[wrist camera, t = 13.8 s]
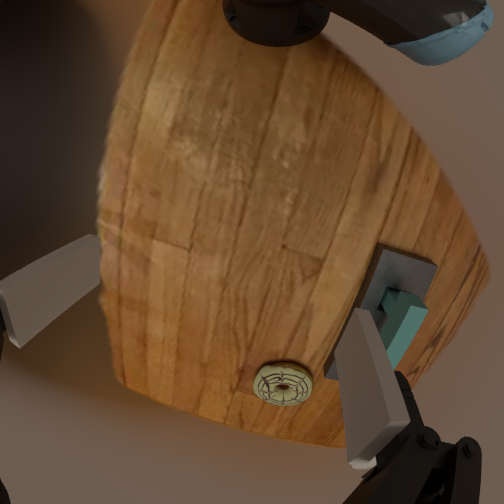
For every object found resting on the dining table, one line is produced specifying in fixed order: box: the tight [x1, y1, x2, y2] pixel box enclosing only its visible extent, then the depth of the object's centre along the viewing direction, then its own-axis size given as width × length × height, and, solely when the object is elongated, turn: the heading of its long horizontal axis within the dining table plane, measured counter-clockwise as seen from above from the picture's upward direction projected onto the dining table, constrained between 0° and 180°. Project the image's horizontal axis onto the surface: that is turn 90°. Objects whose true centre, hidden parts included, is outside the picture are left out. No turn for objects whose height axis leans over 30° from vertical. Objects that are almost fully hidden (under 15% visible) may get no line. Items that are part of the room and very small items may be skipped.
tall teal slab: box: [379, 286, 429, 370], centre depth 36 cm, size 16×3×10 cm, turn 167°
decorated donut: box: [253, 362, 313, 406], centre depth 46 cm, size 10×11×4 cm
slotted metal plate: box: [324, 243, 438, 380], centre depth 40 cm, size 24×10×3 cm, turn 167°
